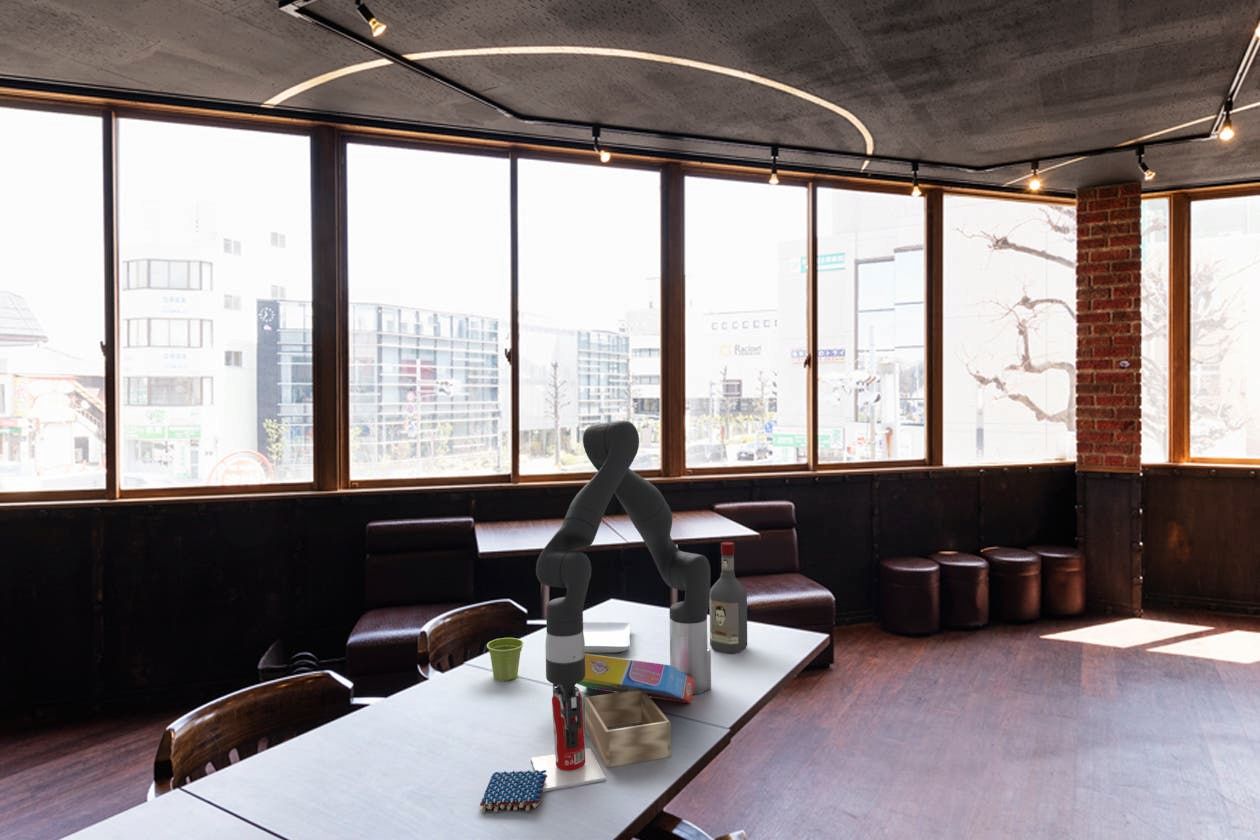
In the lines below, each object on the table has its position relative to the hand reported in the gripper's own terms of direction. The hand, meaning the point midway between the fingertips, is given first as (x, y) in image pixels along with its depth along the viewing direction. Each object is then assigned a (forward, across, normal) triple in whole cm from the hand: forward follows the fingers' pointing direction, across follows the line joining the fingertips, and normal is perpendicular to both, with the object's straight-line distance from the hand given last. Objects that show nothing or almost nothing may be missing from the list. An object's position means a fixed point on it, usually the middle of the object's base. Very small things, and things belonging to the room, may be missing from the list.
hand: (566, 737), depth 138 cm
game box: (-1, +32, -8) cm, 33 cm away
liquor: (+7, +51, -58) cm, 78 cm away
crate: (+6, +7, -14) cm, 17 cm away
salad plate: (+7, +68, -23) cm, 72 cm away
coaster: (+6, 0, 0) cm, 6 cm away
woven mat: (+6, -6, +11) cm, 14 cm away
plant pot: (+7, +51, +5) cm, 52 cm away
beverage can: (+6, 0, 0) cm, 6 cm away
